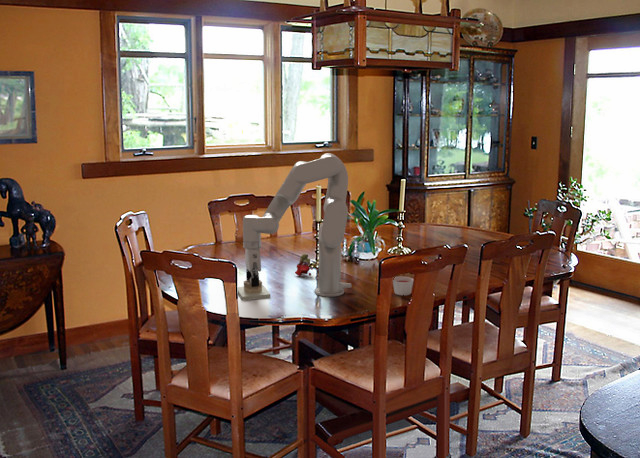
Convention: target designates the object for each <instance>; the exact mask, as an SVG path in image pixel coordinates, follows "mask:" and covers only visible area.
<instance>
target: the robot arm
mask: <svg viewBox="0 0 640 458" xmlns="http://www.w3.org/2000/svg"><path fill="white" fill-rule="evenodd" d="M326 179H327V187H326V189H327V190H326V193H325V198H324V199H325V200H324V204H323V211H324V215H323V220H322V223H321V224H320V226H319V228H318V232H317V235H318V237H317V238H318V287H316V288H315V289H314V293H315V294H316V295H317V296H320V297H329V298H331V297H332V298H333V297H340V296H342V295H344V293H345V288H347V289H348V288H350V289H351V288H352V283H351V282H349V283H347V282H342V280H341V278H342V276H341V274H342V271H341V270H342V269H341V267H342V265H341V264H342V263H341V262H342V243H343V241H344V237H345V232H346V227H347V221H348V214H349V211H348V208H349V207H348V205H347V201H346V200H347V195H348V186H349V175H348V170H347V167H346V165H345V164H344V163H343V161H342V160H341V159H340V158H339V157H338V156H336V155H335V154H333V153H330V152H326V153H324V154H321V156H320V158H318V159H314V160H311V161H304V160H302V161H301V160H300V161H297V162H295V163H294V165H293V167H292V168H291V169H290V171H289V173H288V174H287V176H286V177H285V179H284V181H283V183H282V184H281V186H280V187H279V189H278V190H277V192H276V194H275V195H274V197H273V199H272V200H271V202H270V203H269V205H268V207H267V208H266V209H265V211H264V213H263V215H262V216H259V215H257V214H248V215H244V216H243V217H242V244H243V245H242V248H243V249H244V251H245V257H244V259H245V268H246V276H245V277H246V280H250V278H251V277H252V278H251V286H252V287H258V286H259V280H260V273H259V272H261V271H262V264H261V263H262V259H261V251H260V249H261V248H262V234H266V235H272V234H275V233H276V232H277V231H278V230H279V228H280V221H281V220H282V219H283V216H285V213H286V211H287V210H288V209H289V207H290V206H292V205H294V203H295V202H297V200H298V198H299V197H300V195H301V193H302V192H303V190H304V189H305V187H306V185H307V184H310V183H317V182H318V181H322V180H326ZM246 280H245V281H246Z"/></svg>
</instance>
